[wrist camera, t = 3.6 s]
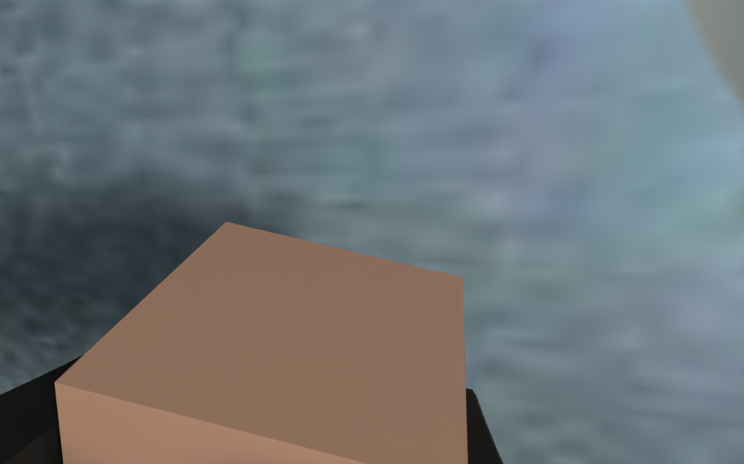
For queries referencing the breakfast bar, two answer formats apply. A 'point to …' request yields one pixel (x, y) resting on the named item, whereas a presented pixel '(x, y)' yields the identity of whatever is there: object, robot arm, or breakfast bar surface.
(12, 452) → the robot arm
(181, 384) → the terracotta cube
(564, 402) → the breakfast bar surface
